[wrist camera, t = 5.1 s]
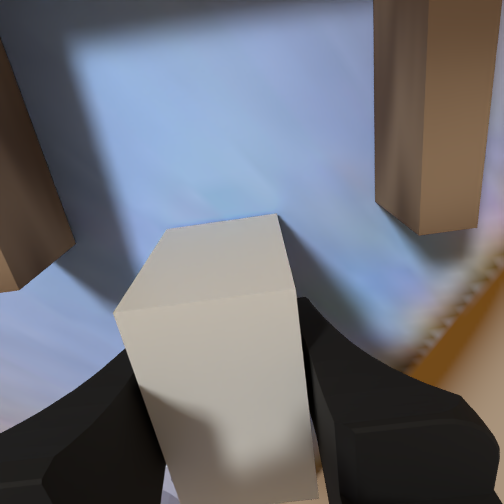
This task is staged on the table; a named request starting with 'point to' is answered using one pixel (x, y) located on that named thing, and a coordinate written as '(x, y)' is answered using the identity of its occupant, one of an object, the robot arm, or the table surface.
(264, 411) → the cream rectangular block
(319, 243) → the table surface
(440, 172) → the bay
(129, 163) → the table surface
